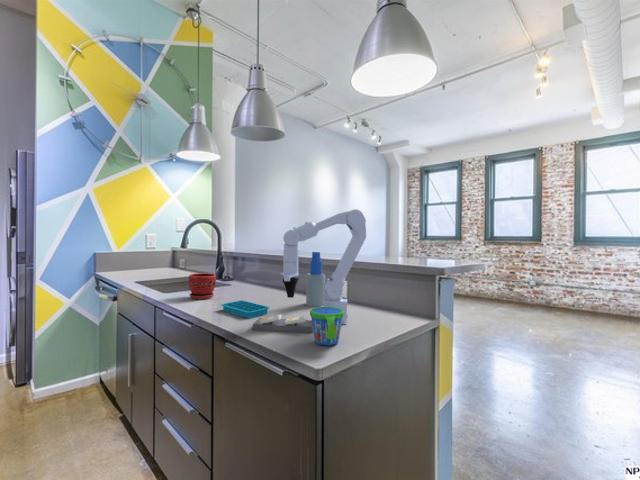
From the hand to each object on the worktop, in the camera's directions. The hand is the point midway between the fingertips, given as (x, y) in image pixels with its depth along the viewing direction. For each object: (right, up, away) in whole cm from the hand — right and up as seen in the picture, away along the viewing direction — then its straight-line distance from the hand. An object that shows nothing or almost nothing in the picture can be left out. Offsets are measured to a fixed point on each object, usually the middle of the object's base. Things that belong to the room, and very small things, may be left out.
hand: (290, 297), depth 121 cm
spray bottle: (+9, -9, +29) cm, 32 cm away
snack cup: (+13, -10, -22) cm, 28 cm away
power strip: (-1, -10, -8) cm, 12 cm away
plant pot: (-49, -8, +41) cm, 64 cm away
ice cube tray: (-21, -9, +14) cm, 27 cm away
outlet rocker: (-6, -6, -9) cm, 13 cm away
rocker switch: (+3, -6, -10) cm, 12 cm away
